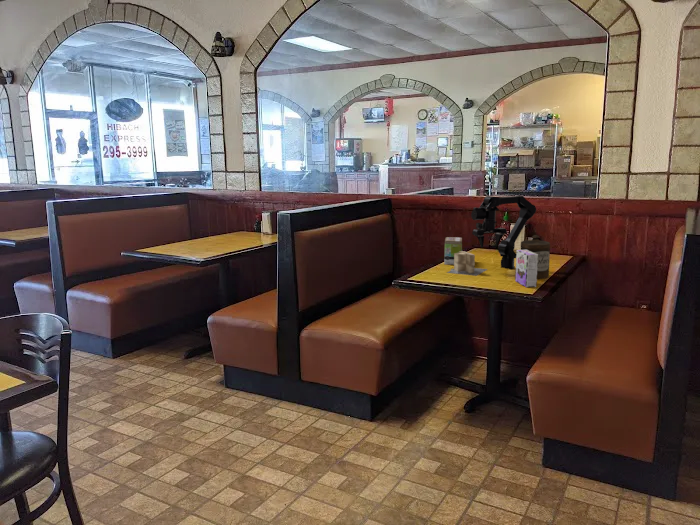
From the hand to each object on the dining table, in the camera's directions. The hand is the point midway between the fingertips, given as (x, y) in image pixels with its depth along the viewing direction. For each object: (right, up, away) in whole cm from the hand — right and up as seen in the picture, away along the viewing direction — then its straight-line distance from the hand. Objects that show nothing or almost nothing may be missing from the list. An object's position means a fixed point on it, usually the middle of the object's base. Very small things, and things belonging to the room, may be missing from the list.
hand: (489, 247), depth 309 cm
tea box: (-16, -9, +24) cm, 30 cm away
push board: (-13, -14, -2) cm, 19 cm away
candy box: (+10, -20, -32) cm, 39 cm away
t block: (-15, -13, -2) cm, 20 cm away
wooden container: (+20, -16, -15) cm, 30 cm away
